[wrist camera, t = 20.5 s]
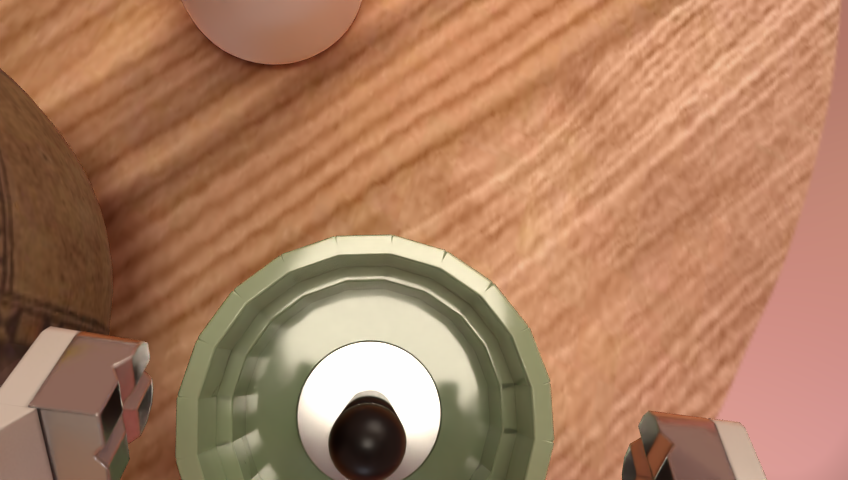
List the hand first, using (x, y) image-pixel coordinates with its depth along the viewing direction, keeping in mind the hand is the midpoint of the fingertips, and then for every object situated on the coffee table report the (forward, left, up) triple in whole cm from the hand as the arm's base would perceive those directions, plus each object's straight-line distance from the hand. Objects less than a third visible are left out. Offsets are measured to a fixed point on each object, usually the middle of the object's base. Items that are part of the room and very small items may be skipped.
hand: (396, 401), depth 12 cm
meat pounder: (+1, +1, -18) cm, 18 cm away
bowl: (+1, +1, -19) cm, 19 cm away
